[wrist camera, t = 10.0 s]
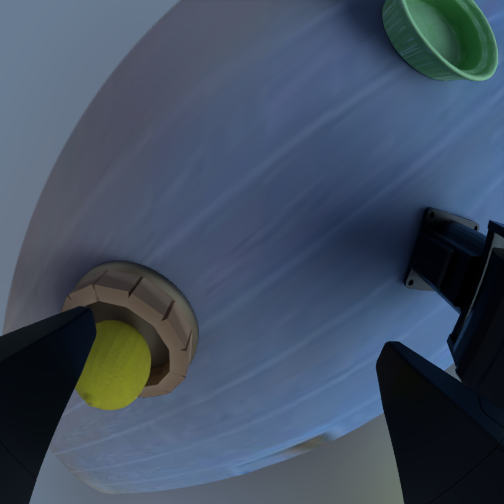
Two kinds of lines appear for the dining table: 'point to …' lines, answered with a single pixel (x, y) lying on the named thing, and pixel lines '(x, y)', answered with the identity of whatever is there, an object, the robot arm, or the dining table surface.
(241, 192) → the dining table surface
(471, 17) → the ramekin
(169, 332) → the wooden bowl
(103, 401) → the lemon
